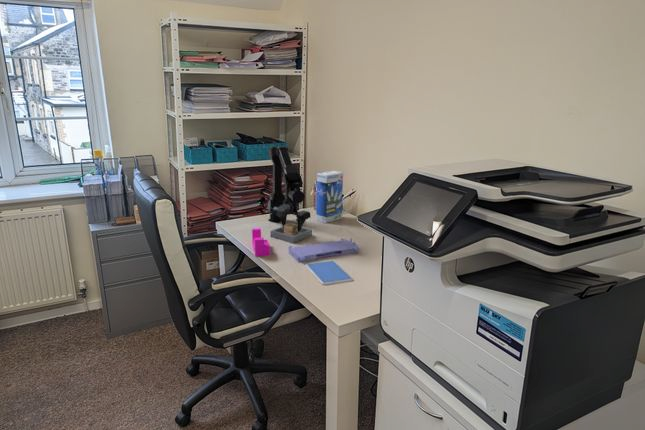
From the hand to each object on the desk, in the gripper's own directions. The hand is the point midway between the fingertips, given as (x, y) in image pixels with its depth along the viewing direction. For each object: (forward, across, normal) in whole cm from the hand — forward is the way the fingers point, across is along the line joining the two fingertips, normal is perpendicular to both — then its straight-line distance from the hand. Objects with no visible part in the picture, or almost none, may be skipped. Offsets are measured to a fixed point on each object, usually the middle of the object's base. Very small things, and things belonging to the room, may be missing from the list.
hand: (291, 229), depth 206 cm
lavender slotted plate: (+4, +25, -7) cm, 26 cm away
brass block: (+3, 0, 0) cm, 3 cm away
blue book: (+4, +38, -23) cm, 45 cm away
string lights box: (+4, -2, +34) cm, 34 cm away
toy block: (+4, +1, -22) cm, 22 cm away
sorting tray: (+3, 0, 0) cm, 3 cm away
